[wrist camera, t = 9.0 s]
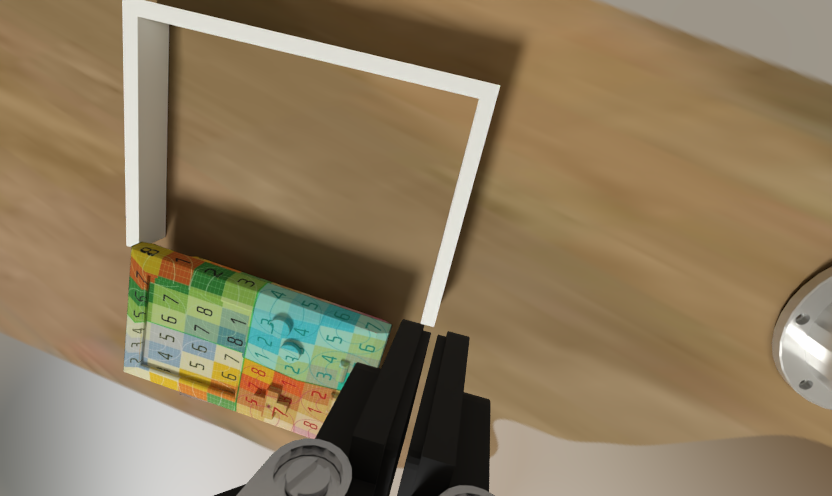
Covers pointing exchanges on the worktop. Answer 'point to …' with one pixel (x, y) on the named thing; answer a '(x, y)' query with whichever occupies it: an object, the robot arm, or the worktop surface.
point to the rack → (151, 48)
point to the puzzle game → (243, 339)
